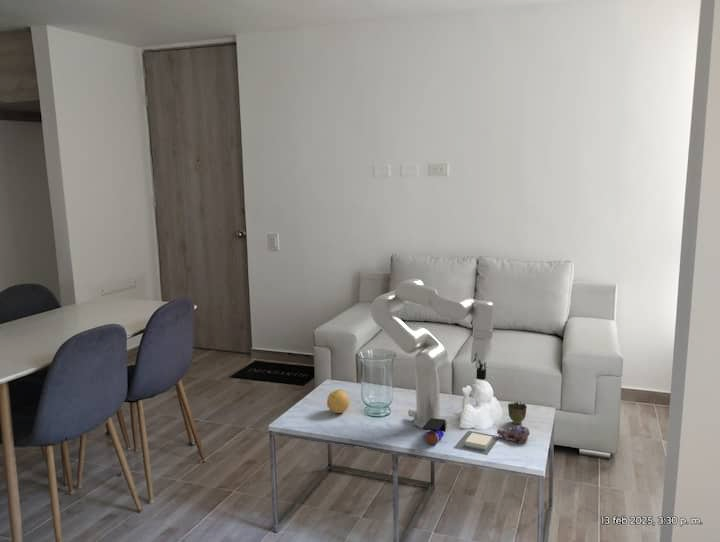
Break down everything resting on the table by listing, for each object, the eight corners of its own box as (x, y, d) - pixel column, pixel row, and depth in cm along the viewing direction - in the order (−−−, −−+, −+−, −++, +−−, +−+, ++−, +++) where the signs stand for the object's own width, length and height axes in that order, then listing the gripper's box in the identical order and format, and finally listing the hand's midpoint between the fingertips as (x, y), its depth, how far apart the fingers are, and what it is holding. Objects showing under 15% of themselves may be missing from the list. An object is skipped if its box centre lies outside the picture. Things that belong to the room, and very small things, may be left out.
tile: (472, 437, 229) (465, 446, 222) (472, 432, 229) (465, 441, 222) (492, 441, 225) (485, 450, 218) (492, 436, 225) (485, 445, 218)
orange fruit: (351, 408, 263) (350, 386, 262) (348, 417, 254) (347, 394, 252) (329, 407, 265) (328, 386, 263) (325, 416, 255) (324, 394, 253)
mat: (453, 448, 221) (453, 447, 221) (468, 431, 236) (468, 430, 236) (487, 456, 215) (487, 454, 215) (500, 437, 229) (500, 436, 229)
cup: (507, 419, 246) (507, 401, 245) (525, 420, 244) (526, 402, 243) (508, 427, 239) (508, 408, 237) (527, 428, 237) (527, 409, 236)
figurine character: (431, 433, 239) (421, 445, 224) (431, 414, 238) (421, 425, 224) (447, 435, 236) (438, 447, 222) (448, 416, 236) (439, 427, 222)
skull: (494, 438, 227) (496, 422, 226) (499, 433, 234) (502, 418, 233) (525, 446, 221) (527, 431, 221) (530, 441, 228) (532, 426, 227)
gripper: (480, 327, 234) (478, 371, 237) (465, 336, 221) (464, 382, 224) (498, 330, 230) (496, 374, 233) (485, 339, 217) (483, 386, 220)
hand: (481, 378), depth 229 cm, fingers closed
